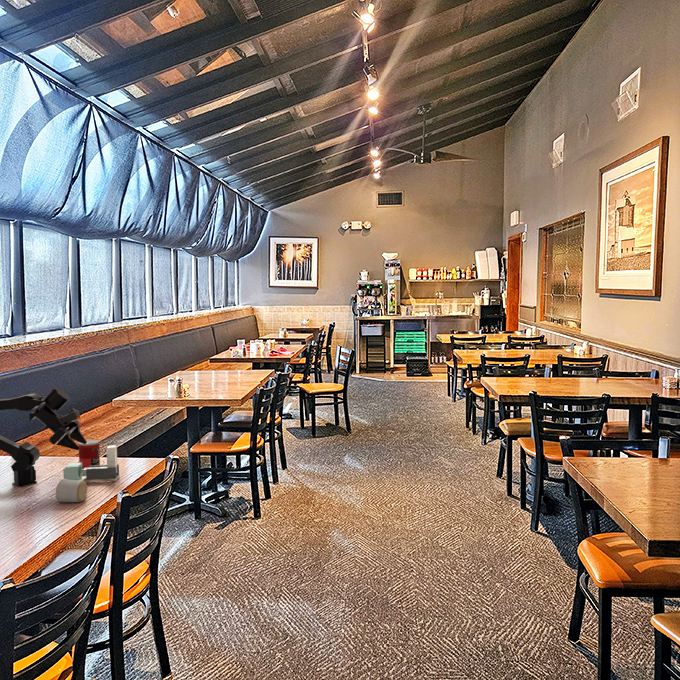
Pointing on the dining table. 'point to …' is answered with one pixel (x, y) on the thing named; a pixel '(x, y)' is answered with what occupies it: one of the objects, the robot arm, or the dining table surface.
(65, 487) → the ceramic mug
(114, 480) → the base board
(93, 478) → the sleeve
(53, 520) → the dining table surface
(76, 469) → the socket
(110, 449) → the light grey l-shaped piece
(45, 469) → the dining table surface
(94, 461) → the canned food
